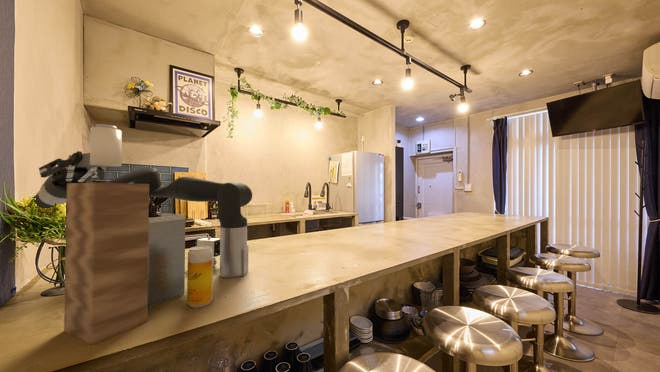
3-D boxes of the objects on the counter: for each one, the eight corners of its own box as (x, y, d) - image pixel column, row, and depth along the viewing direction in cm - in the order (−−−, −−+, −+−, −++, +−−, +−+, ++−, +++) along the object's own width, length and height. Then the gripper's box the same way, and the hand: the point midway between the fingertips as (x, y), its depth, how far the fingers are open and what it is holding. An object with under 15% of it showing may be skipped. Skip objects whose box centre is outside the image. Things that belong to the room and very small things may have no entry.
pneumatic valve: (218, 269, 97) (218, 238, 97) (192, 267, 100) (192, 236, 100) (227, 265, 103) (227, 235, 103) (201, 263, 105) (202, 234, 105)
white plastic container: (61, 166, 67) (61, 129, 68) (89, 168, 73) (90, 133, 73) (97, 163, 60) (98, 121, 60) (126, 165, 66) (127, 127, 66)
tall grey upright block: (125, 301, 69) (127, 216, 70) (163, 288, 79) (164, 213, 79) (147, 308, 65) (149, 218, 66) (184, 293, 74) (185, 214, 75)
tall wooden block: (64, 330, 55) (66, 183, 55) (118, 310, 64) (120, 184, 64) (92, 345, 50) (95, 182, 50) (147, 321, 59) (149, 183, 59)
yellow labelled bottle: (185, 302, 69) (186, 247, 69) (209, 296, 72) (210, 244, 73) (189, 311, 64) (189, 251, 64) (214, 304, 68) (215, 248, 68)
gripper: (96, 198, 79) (124, 168, 73) (28, 200, 66) (56, 164, 60) (89, 177, 80) (116, 147, 75) (22, 175, 68) (49, 138, 62)
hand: (89, 155), depth 67 cm, fingers closed on white plastic container, 3 cm apart
